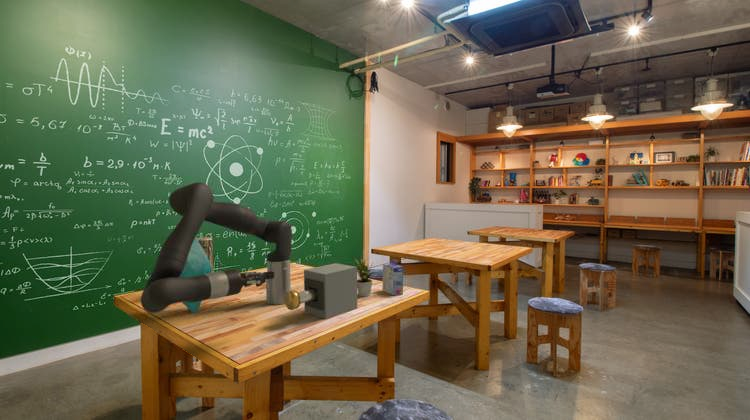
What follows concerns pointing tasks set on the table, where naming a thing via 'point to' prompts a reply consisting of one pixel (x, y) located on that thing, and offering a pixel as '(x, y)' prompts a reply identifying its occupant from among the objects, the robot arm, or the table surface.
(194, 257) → the crystal
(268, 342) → the table surface
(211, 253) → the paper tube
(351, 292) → the housing
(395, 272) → the ink cartridge box
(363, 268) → the house plant
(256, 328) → the table surface
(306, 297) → the peg
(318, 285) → the collar
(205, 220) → the robot arm
